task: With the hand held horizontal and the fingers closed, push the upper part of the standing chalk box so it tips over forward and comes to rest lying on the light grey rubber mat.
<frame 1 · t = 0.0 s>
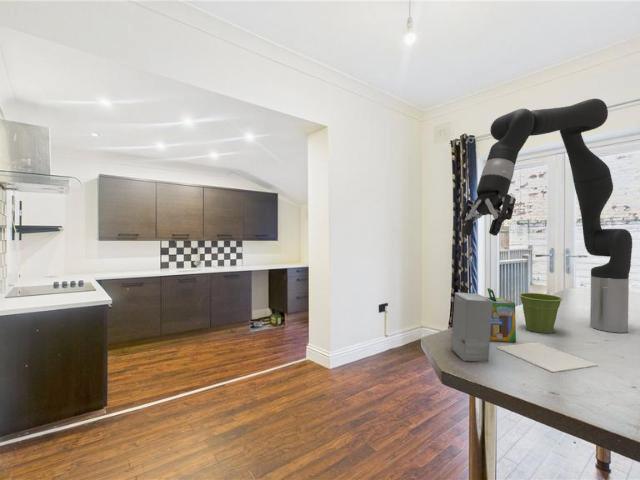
hand: (479, 234, 83), 31 cm above the table, tool tilted 20°, fingers open, 8 cm apart
skincare box: (470, 356, 81), on the table
chalk box: (493, 337, 96), on the table
plant pot: (539, 330, 102), on the table
mat: (543, 356, 80), on the table
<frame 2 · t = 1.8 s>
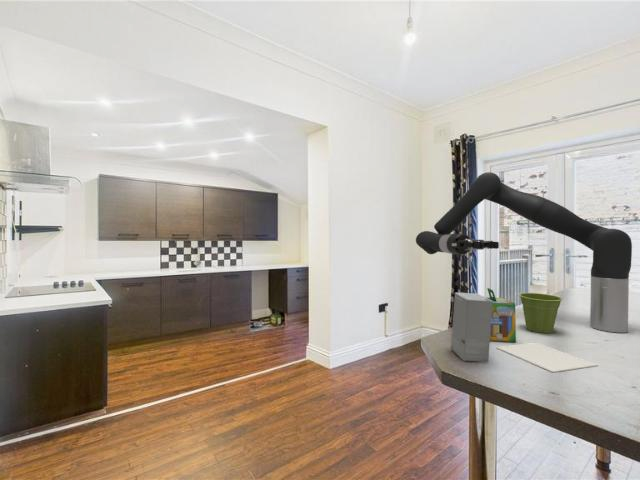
hand: (490, 245, 99), 28 cm above the table, tool horizontal, fingers open, 5 cm apart
nothing on the table moved.
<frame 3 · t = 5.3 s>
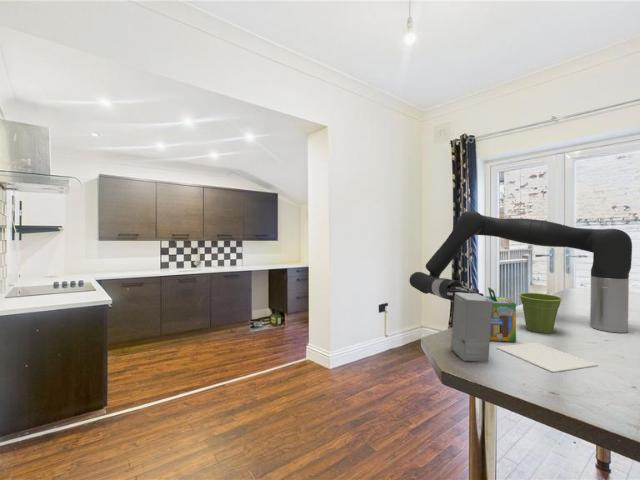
hand: (481, 297, 100), 11 cm above the table, tool horizontal, fingers closed
chalk box: (493, 336, 96), on the table, touching gripper
everything else where it was.
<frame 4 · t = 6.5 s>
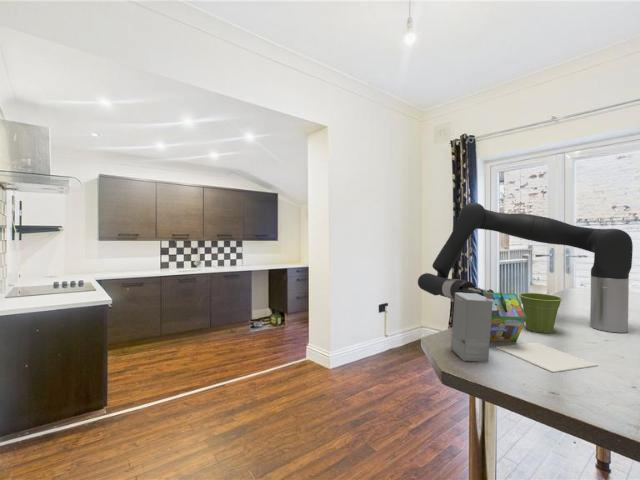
hand: (497, 298, 94), 12 cm above the table, tool horizontal, fingers closed
chalk box: (494, 328, 95), point 3 cm above the table, touching gripper
everything else where it was.
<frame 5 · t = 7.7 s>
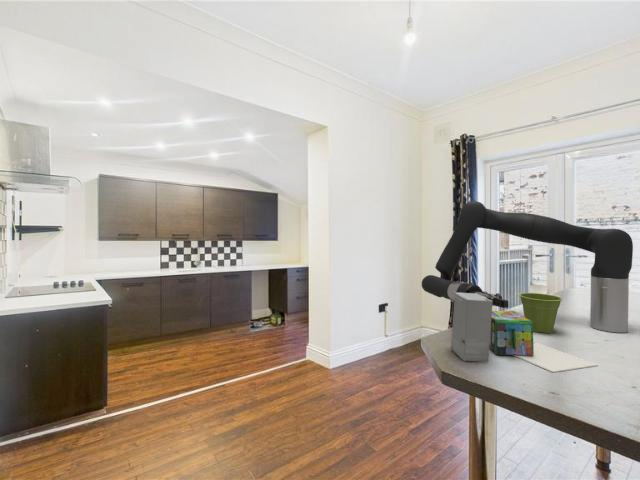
hand: (506, 304, 91), 11 cm above the table, tool horizontal, fingers closed
chalk box: (498, 325, 91), point 5 cm above the table, touching mat
everything else where it was.
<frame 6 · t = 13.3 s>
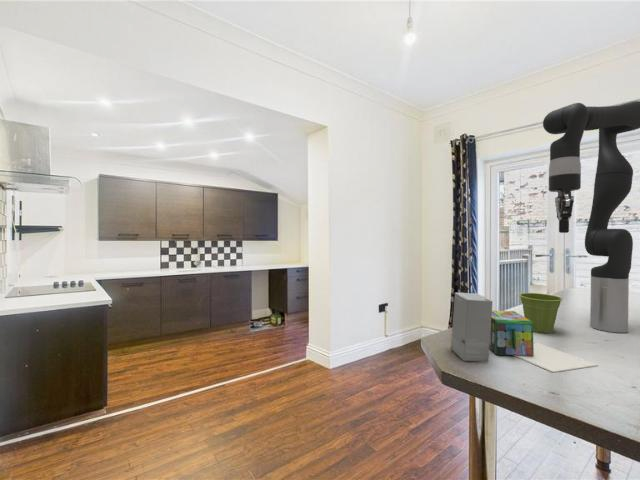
hand: (563, 232, 93), 32 cm above the table, tool pointing down, fingers closed
nothing on the table moved.
at the end: chalk box tilted 91°; chalk box 12.4 cm from the mat (horizontally); chalk box touching mat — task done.
